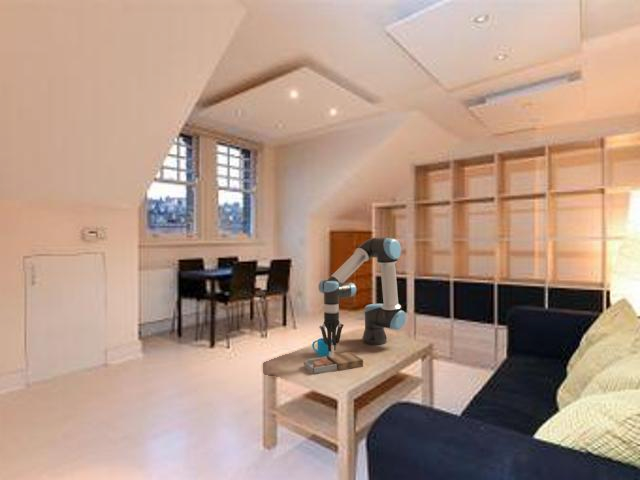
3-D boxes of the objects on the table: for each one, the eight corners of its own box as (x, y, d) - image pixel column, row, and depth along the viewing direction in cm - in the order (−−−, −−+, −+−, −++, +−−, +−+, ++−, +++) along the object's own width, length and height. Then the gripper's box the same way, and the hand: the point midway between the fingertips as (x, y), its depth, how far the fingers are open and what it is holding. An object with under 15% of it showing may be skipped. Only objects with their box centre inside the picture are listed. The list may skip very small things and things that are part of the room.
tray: (326, 362, 209) (326, 356, 208) (337, 370, 198) (337, 364, 197) (304, 366, 203) (304, 360, 203) (313, 374, 192) (313, 368, 192)
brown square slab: (349, 357, 215) (349, 351, 215) (363, 366, 202) (362, 359, 202) (326, 361, 210) (326, 355, 209) (338, 370, 197) (338, 363, 197)
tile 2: (326, 364, 204) (329, 360, 205) (330, 367, 200) (333, 362, 201) (320, 360, 203) (323, 355, 203) (324, 362, 199) (326, 358, 199)
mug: (334, 353, 224) (334, 338, 223) (328, 357, 216) (328, 342, 216) (315, 350, 229) (315, 336, 229) (308, 354, 222) (308, 340, 221)
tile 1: (313, 361, 201) (313, 366, 201) (316, 364, 197) (316, 369, 197) (321, 360, 203) (321, 365, 203) (324, 363, 199) (324, 368, 199)
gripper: (339, 309, 208) (339, 353, 209) (316, 311, 203) (317, 356, 204) (346, 311, 201) (346, 357, 202) (322, 314, 196) (323, 361, 197)
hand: (331, 357), depth 203 cm, fingers closed
